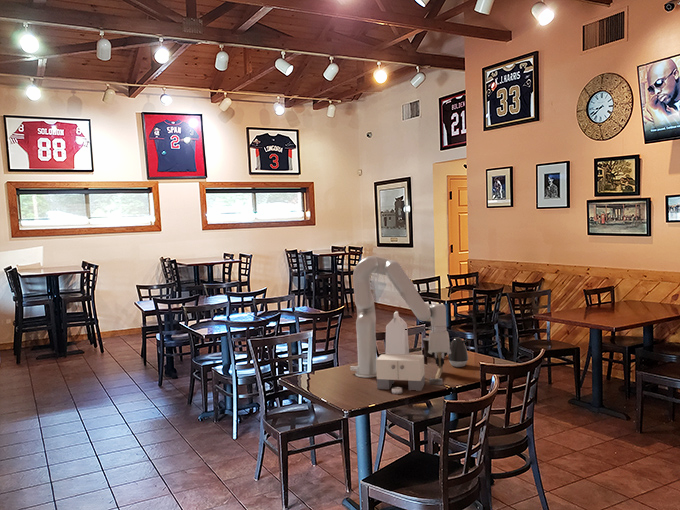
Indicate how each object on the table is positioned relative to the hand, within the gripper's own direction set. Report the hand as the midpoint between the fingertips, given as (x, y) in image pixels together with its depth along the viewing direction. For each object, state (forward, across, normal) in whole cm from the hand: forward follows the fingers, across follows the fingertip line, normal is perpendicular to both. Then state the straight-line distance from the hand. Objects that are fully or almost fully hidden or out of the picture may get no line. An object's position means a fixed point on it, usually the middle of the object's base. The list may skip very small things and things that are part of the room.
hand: (440, 365), depth 265 cm
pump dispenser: (+5, +7, +18) cm, 20 cm away
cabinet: (+4, -15, -25) cm, 30 cm away
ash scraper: (+4, 0, -8) cm, 9 cm away
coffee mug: (+5, -11, +38) cm, 40 cm away
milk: (+4, -29, +35) cm, 45 cm away
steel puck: (+4, -15, -35) cm, 38 cm away
